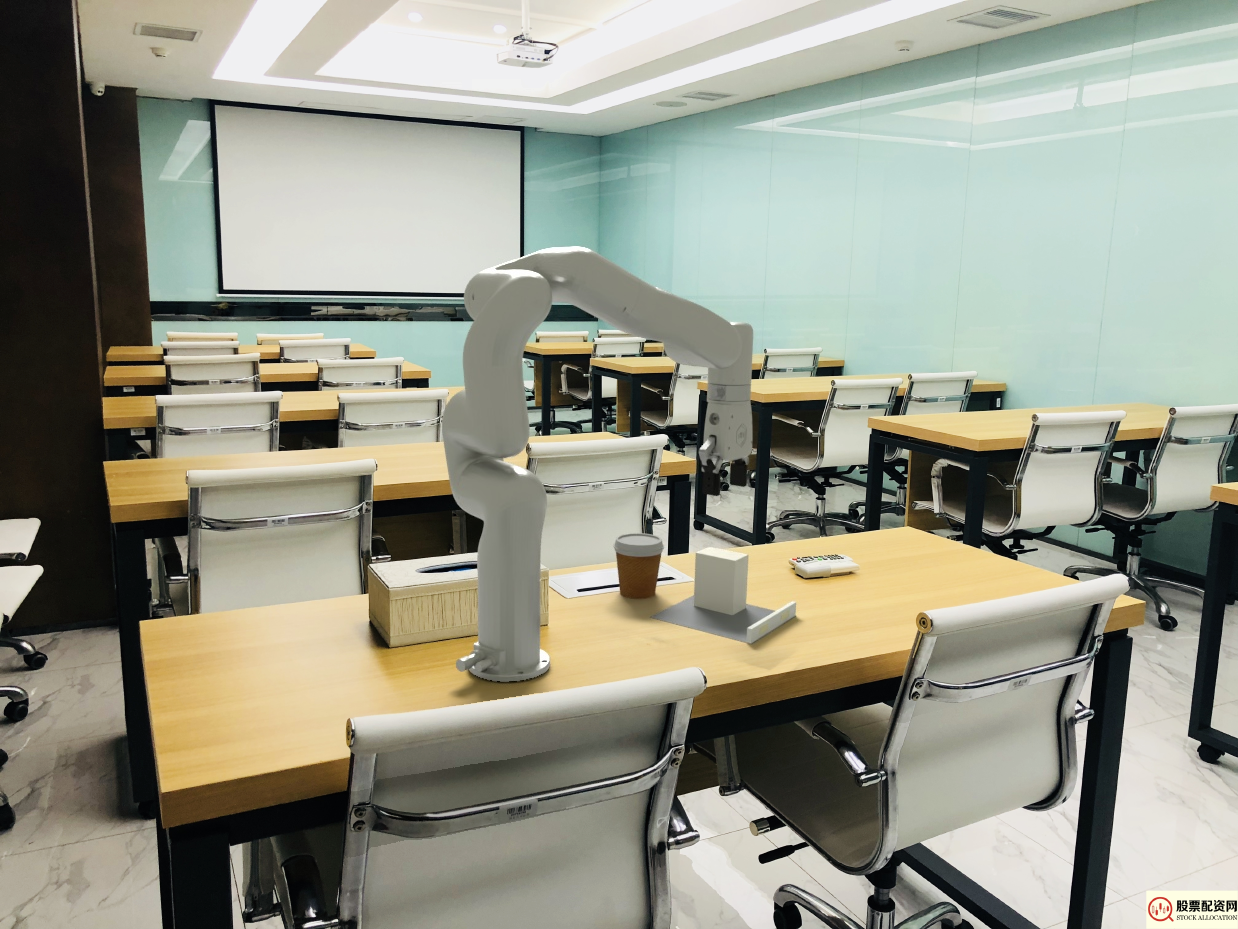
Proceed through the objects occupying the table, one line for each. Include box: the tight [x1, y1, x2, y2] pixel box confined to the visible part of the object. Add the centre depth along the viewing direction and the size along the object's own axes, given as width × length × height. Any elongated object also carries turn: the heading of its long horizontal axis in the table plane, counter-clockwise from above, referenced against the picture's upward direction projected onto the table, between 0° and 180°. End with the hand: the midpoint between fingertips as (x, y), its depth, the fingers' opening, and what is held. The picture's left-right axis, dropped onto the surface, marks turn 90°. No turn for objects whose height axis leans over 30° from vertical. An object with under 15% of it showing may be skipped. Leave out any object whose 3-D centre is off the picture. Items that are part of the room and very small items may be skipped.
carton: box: [693, 546, 749, 615], centre depth 167 cm, size 5×8×10 cm
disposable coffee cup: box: [612, 532, 665, 600], centre depth 174 cm, size 10×10×12 cm
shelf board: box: [649, 594, 797, 645], centre depth 163 cm, size 17×20×4 cm
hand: (724, 490), depth 164 cm, fingers open, 9 cm apart
